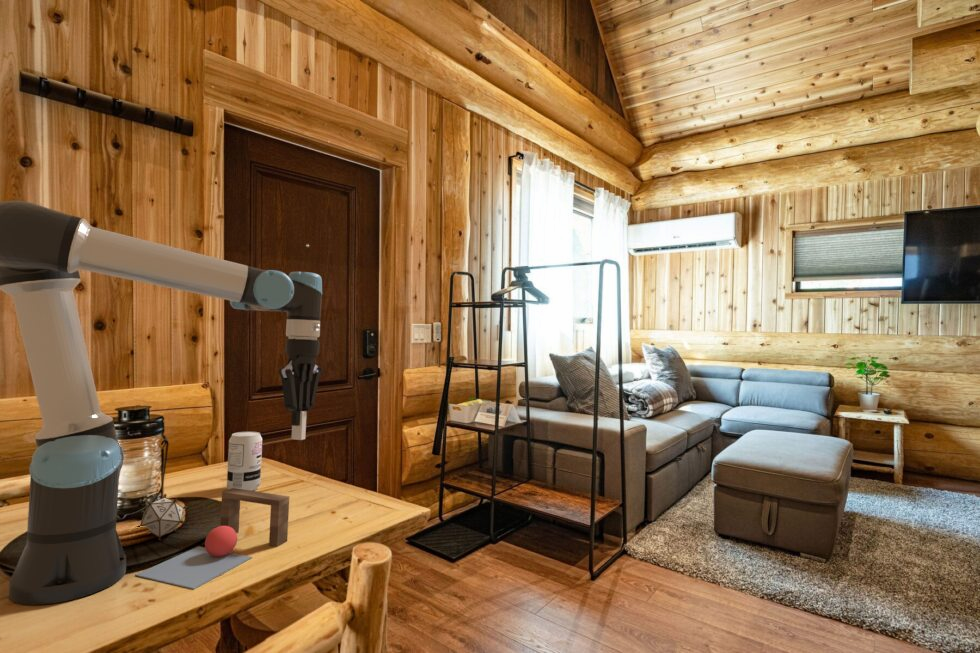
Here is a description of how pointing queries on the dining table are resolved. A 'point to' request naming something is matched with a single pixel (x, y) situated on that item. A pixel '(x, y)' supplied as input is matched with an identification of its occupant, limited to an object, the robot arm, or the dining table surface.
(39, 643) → the dining table surface
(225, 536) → the ball
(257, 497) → the bridge
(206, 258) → the robot arm
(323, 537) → the dining table surface
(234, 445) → the supplement can
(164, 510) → the game die
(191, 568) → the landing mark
